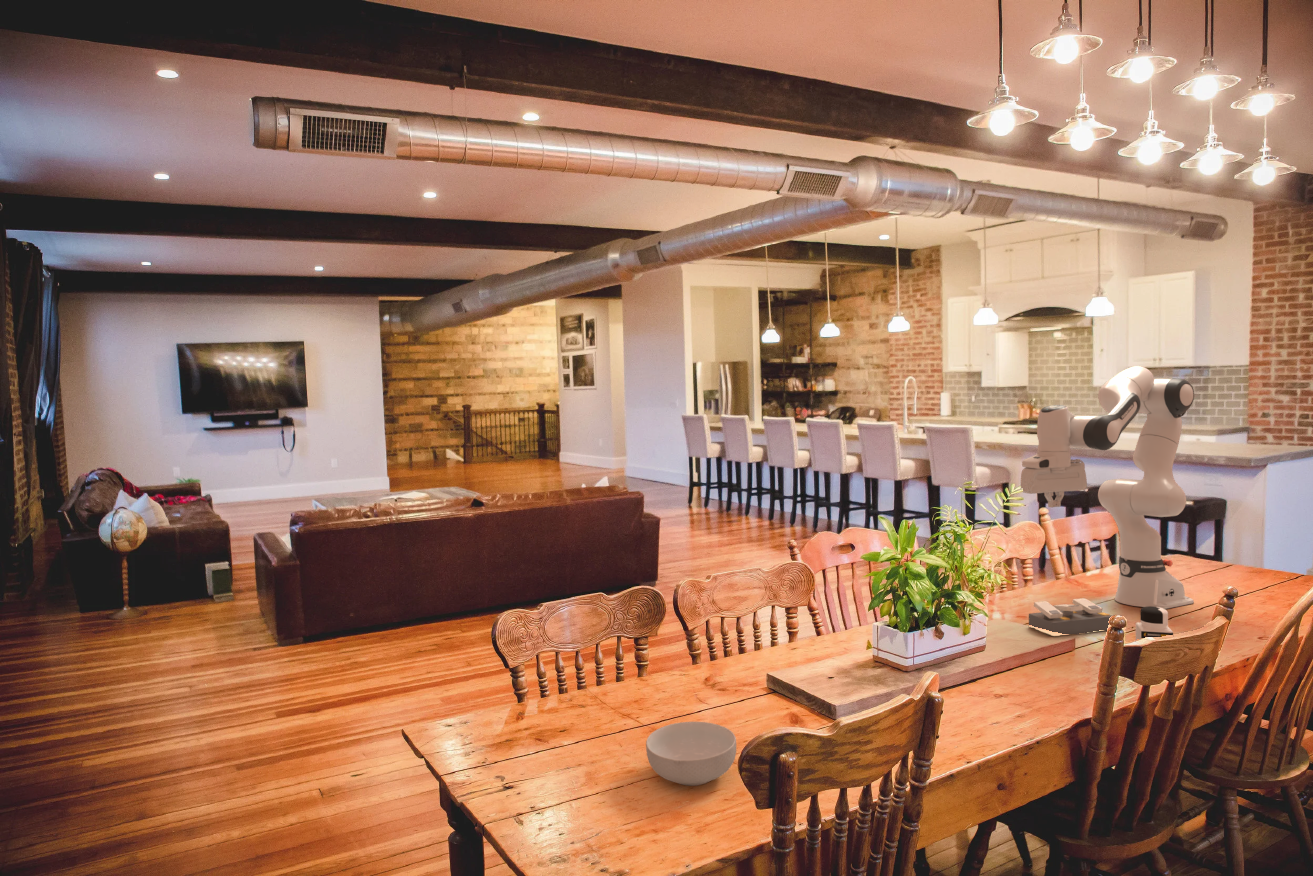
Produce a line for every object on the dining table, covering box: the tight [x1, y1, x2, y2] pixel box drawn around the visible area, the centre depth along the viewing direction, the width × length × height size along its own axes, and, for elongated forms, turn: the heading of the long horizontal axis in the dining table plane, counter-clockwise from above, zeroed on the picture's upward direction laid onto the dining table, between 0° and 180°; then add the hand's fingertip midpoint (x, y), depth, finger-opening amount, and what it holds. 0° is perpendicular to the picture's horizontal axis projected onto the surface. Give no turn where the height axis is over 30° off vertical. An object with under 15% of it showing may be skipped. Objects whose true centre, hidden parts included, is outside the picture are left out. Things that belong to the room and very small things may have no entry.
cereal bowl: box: [645, 721, 737, 787], centre depth 151 cm, size 17×17×7 cm
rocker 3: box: [1072, 597, 1103, 613], centre depth 234 cm, size 4×7×1 cm, turn 13°
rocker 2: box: [1052, 603, 1083, 611], centre depth 232 cm, size 4×7×1 cm, turn 13°
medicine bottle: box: [1135, 606, 1174, 641], centre depth 209 cm, size 7×7×12 cm
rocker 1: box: [1033, 600, 1063, 619], centre depth 231 cm, size 4×7×1 cm, turn 13°
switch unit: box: [1028, 610, 1113, 635], centre depth 233 cm, size 20×10×5 cm, turn 103°
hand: (1054, 507), depth 240 cm, fingers closed
